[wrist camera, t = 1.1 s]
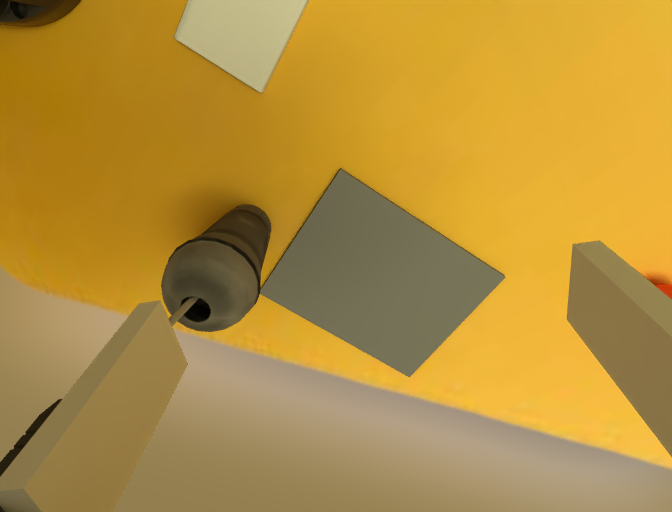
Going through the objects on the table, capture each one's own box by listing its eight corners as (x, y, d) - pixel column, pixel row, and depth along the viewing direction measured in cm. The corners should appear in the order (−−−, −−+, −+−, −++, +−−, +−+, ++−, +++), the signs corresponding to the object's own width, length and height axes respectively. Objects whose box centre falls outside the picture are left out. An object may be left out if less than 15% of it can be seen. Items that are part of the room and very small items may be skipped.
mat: (259, 290, 46) (258, 292, 46) (340, 168, 40) (340, 169, 39) (409, 374, 50) (409, 377, 49) (503, 275, 44) (505, 277, 43)
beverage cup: (235, 267, 45) (151, 412, 27) (199, 206, 42) (79, 322, 24) (296, 244, 43) (251, 381, 25) (264, 179, 41) (187, 281, 23)
